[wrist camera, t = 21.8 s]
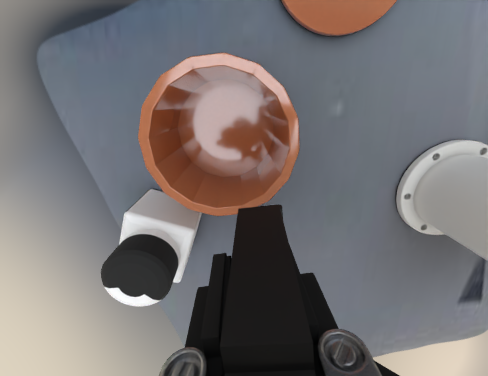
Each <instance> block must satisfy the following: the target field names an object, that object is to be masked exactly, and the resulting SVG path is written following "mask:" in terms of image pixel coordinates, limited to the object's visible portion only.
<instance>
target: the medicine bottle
mask: <svg viewBox="0 0 488 376" xmlns="http://www.w3.org/2000/svg"><path fill="white" fill-rule="evenodd" d="M201 215H202V212H197V211H193V210H190V209H188V208H186V207H185V206H183V205H182V204H180V203H179V202H177V201H176V200H174V199H173V198H171V197H170V196H168V195H167V194H165V193H164V192H161V191H157V190H154V189H150V190H149V191H147V192H146V193H145V194H144V195H143V196H142V197H141V198H140V199H139V200H138V201H137V202H136V203H135V204H134V205H133V206H131V207H130V208H129V209H128V210H127V211H126V212H125V214H124V219H123V225H122V231H121V237H120V243H119V246H118V247H117V248H116V249H115V250H114V252H113V253H112V254H111V255H110V256H109V257H108V259H107V260H106V261H105V262H104V264H103V266H102V269H101V278H102V282H103V285H104V287H105V289H106V290H107V292H108V293H109V294H110V295H111V296H112V297H114V298H115V299H117V300H118V301H120V302H122V303H124V304H127V305H131V306H147V305H151V304H154V303H156V302H159V301H160V300H162V299H163V298H164V297H165V296H166V295H167V294H168V292H169V290H170V288H171V285H172V283H173V282H176V283H179V282H180V281H181V279H182V276H183V273H184V270H185V267H186V264H187V261H188V258H189V255H190V252H191V249H192V246H193V242H194V239H195V235H196V232H197V228H198V225H199V221H200V218H201Z"/></svg>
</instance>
